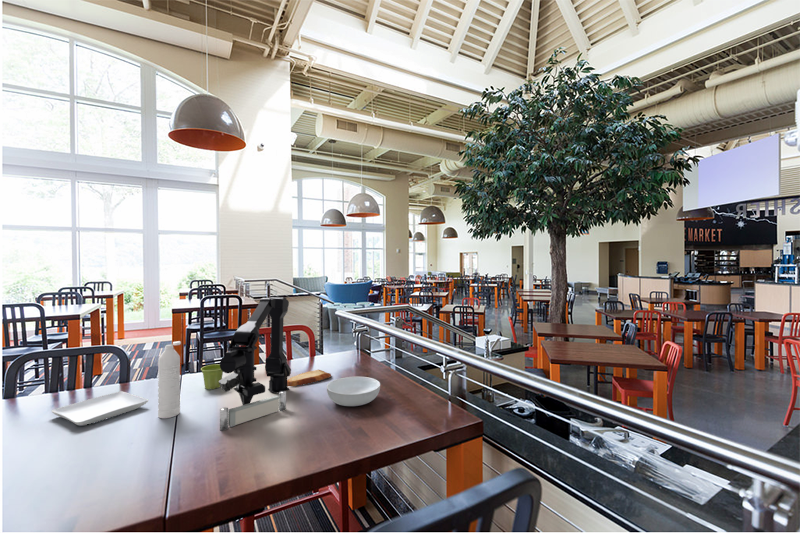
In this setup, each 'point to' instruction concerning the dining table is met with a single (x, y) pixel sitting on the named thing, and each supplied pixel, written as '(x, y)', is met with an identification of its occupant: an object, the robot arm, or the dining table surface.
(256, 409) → the bar
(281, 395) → the hinge post
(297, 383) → the bread slice
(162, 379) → the water bottle
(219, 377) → the plant pot
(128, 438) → the dining table surface
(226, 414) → the post
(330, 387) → the serving bowl
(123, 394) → the salad plate
